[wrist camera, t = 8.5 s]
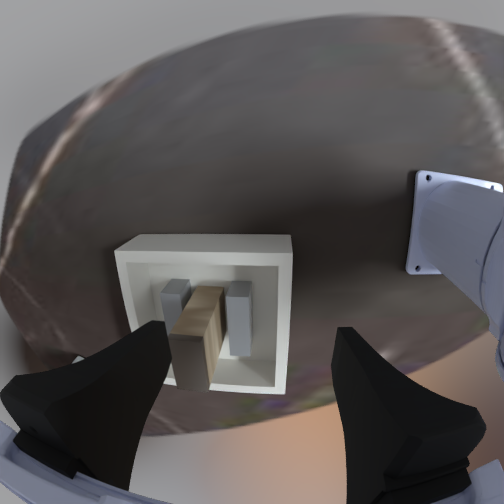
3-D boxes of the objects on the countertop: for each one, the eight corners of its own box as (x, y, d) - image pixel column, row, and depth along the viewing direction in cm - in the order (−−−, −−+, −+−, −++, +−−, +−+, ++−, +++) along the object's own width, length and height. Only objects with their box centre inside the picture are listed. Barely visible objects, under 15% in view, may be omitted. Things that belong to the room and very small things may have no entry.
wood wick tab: (223, 286, 21) (200, 342, 15) (226, 331, 23) (207, 392, 16) (198, 285, 22) (166, 339, 15) (202, 329, 23) (177, 388, 16)
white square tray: (290, 234, 20) (292, 253, 17) (285, 362, 24) (284, 394, 20) (139, 234, 22) (114, 250, 18) (160, 353, 25) (145, 380, 21)
